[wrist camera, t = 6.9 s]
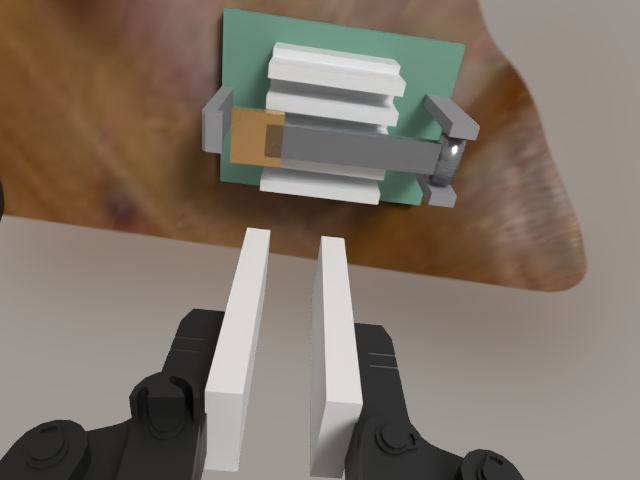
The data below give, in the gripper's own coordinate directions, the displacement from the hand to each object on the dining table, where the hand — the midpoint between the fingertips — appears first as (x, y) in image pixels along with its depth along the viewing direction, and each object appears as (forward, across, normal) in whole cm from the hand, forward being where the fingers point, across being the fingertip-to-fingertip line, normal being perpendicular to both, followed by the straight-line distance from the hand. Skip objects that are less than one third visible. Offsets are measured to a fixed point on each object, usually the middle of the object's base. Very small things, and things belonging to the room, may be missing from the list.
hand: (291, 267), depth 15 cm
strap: (+14, +3, 0) cm, 14 cm away
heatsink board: (+20, +2, 0) cm, 20 cm away
